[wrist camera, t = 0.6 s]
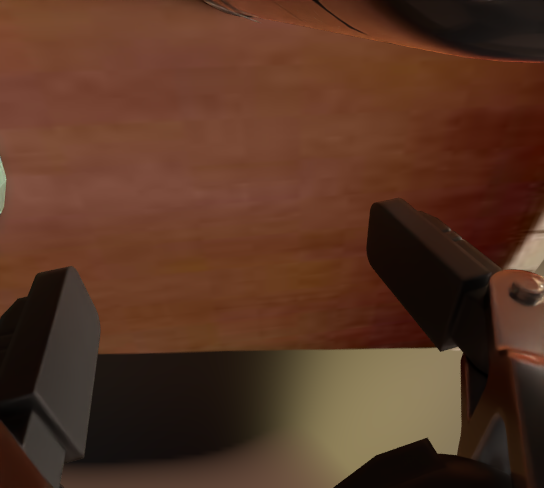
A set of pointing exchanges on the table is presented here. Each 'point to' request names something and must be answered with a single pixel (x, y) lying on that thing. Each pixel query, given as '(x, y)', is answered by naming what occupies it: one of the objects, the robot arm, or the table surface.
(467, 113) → the table surface
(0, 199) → the basin
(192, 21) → the table surface
